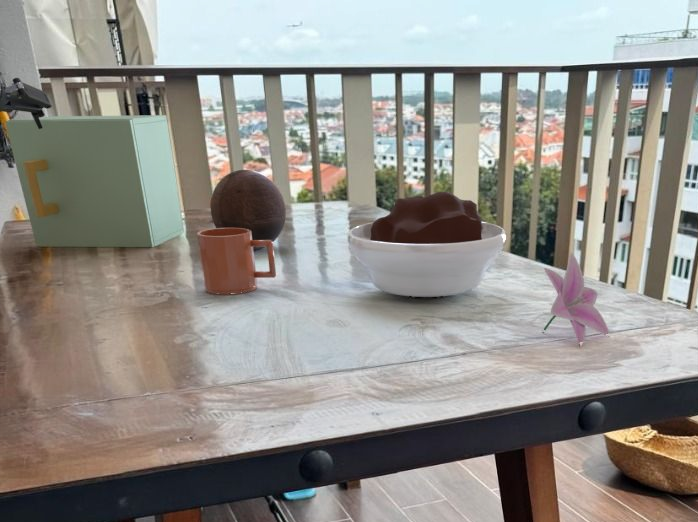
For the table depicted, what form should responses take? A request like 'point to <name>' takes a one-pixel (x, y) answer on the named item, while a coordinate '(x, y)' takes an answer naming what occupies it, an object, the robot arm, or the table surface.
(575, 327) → the lily
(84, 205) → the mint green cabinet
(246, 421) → the table surface
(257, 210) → the wooden sphere
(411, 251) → the filled white bowl
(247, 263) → the mug
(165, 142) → the cupboard
